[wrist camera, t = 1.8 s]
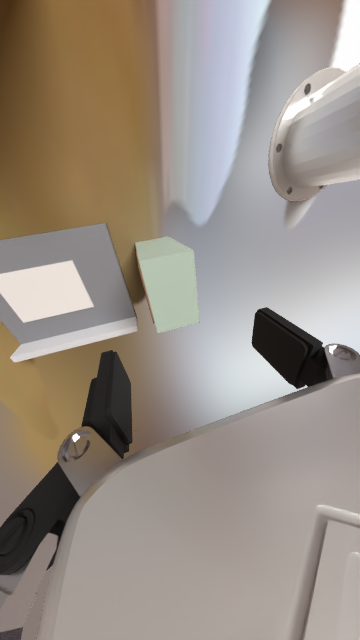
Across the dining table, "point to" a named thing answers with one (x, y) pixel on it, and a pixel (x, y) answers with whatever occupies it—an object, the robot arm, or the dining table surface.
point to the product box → (168, 282)
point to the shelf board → (63, 290)
